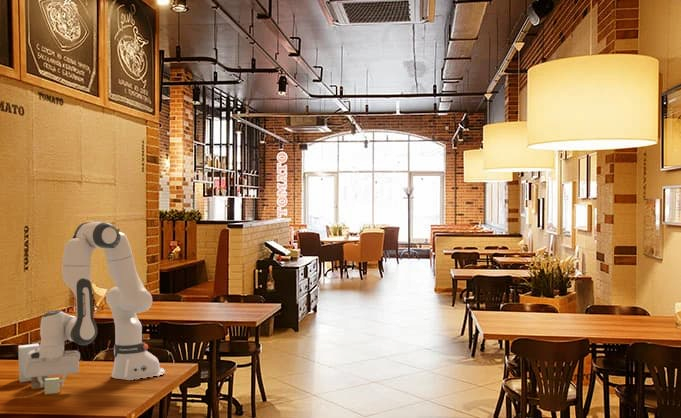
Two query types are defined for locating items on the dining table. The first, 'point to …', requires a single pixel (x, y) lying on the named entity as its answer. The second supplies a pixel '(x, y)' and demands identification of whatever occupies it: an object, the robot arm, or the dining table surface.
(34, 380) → the block bottom
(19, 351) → the skincare box
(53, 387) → the block small
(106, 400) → the dining table surface
